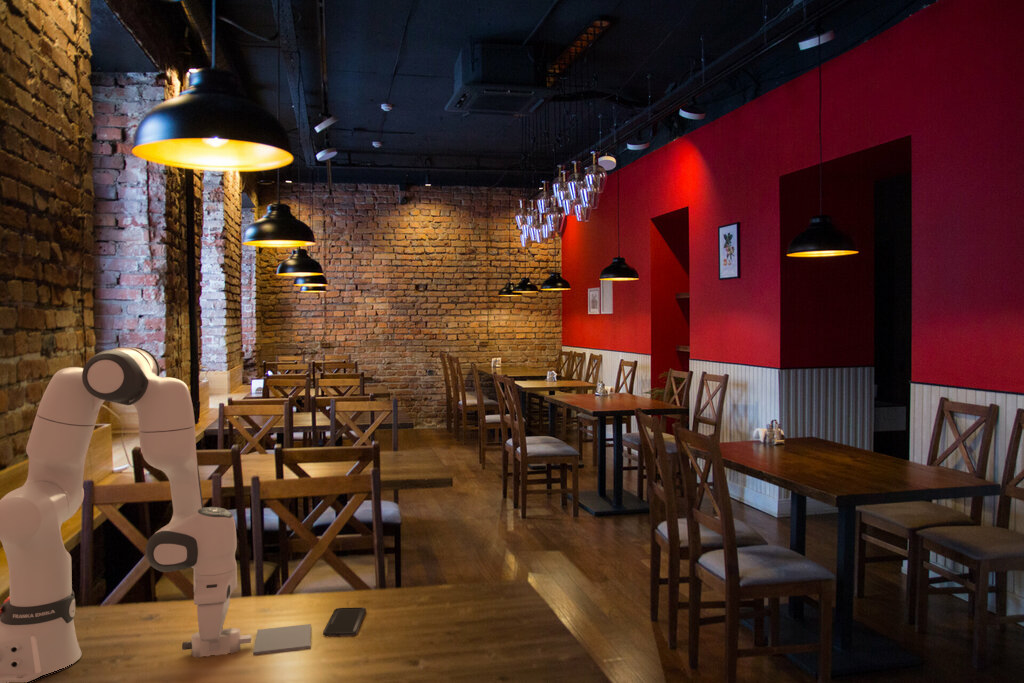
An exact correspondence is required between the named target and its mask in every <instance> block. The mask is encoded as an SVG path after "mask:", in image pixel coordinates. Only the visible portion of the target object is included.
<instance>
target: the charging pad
mask: <svg viewBox="0 0 1024 683" xmlns="http://www.w3.org/2000/svg"><path fill="white" fill-rule="evenodd" d="M311 627H312V626H311V623H309V624H308V623H307V624H306V623H305V624H298V625H288V626H280V627H279V626H278V627H272V628H271V627H270V628H269V627H268V628H261V629H257V630H256V637H255V640H254V645H253V646H254V647H253V652H252V653H253V654H252V655H253V656H254V655H255V656H256V655H263V654H272V653H281V652H291V651H298V650H308V649H311V637H312V636H311V634H312V632H311V630H312V629H311Z"/></svg>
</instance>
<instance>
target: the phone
mask: <svg viewBox="0 0 1024 683" xmlns="http://www.w3.org/2000/svg"><path fill="white" fill-rule="evenodd" d="M366 613H367V608H366V607H337V608H335V609H334V610H333V611H332V614H331V616H330V618H329V619H328V622H327V623H326V626H325V627H324V629H323V631H322V635H325V636H324V637H326V636H332V637H354V636H353V635H355V636H357V635H358V632H359V630H360V628H361V624H362V623H361V622H363V620H364V618H365V616H366ZM359 627H360V628H359Z"/></svg>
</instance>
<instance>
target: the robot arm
mask: <svg viewBox="0 0 1024 683" xmlns="http://www.w3.org/2000/svg"><path fill="white" fill-rule="evenodd" d="M47 384H48V385H47V387H46V388H45V391H44V393H43V395H42V398H41V400H40V402H39V405H38V408H37V411H36V414H35V417H34V421H33V424H32V427H31V431H30V433H29V438H28V440H27V445H26V447H25V452H26V455H27V457H28V470H27V471H28V472H27V478H26V481H25V482H24V484H23V485H22V486H20V487H18V488H15V489H14V490H12V491H9V492H8V493H6V494H5V495H4V496H3V497H1V499H0V542H1V544H2V547H3V551H4V552H5V557H6V561H7V565H8V567H7V568H8V579H9V580H8V581H9V582H8V584H9V585H8V586H9V596H8V597H7V598H6V599H5V600H4V601H3V604H1V605H0V683H6V682H7V683H9V682H28V681H31V680H33V679H36V678H38V677H40V676H42V675H45V674H48V673H51V672H54V671H57V670H59V669H62V668H64V669H66V668H68V667H70V666H72V665H73V664H75V663H76V662H77V661H78V660H80V658H81V657H82V654H83V653H82V650H81V648H80V644H79V642H78V641H79V640H78V638H77V633H76V628H75V622H74V618H75V615H76V614H75V613H76V598H75V592H74V590H73V588H72V587H73V584H72V582H73V581H72V577H73V576H72V570H73V569H72V556H71V554H70V552H68V551H67V549H66V548H65V544H64V541H63V536H62V531H61V529H62V524H63V523H65V522H66V521H68V520H69V519H71V518H72V517H73V516H75V514H76V513H77V511H78V510H79V509H80V507H81V505H82V504H83V501H84V498H85V489H84V487H83V485H84V474H85V462H86V458H87V454H88V451H89V446H90V444H91V440H92V436H93V432H94V430H95V426H96V424H97V423H96V422H97V420H98V416H99V412H100V410H101V408H102V405H103V404H104V402H109V403H116V404H120V405H125V406H132V405H133V407H135V409H136V412H137V418H138V437H139V446H140V452H141V454H142V458H143V459H144V461H145V462H146V463H147V464H148V465H149V466H151V467H153V468H154V469H157V470H159V471H162V472H163V473H164V474H165V475H166V477H167V479H168V481H169V487H170V488H169V489H170V494H171V495H170V496H171V502H172V516H171V519H170V521H169V523H167V524H166V525H165V526H163V527H161V528H159V530H157V531H156V532H155V533H154V534H152V535H151V536H150V537H149V539H148V540H147V542H146V545H145V552H144V553H145V557H146V560H147V562H148V563H149V564H150V566H151V567H152V568H153V569H155V570H157V571H159V572H163V573H170V572H177V571H181V570H186V569H190V568H192V569H193V603H194V605H196V610H197V612H196V613H197V625H198V632H199V635H200V639H201V641H202V642H206V641H209V646H210V651H217V650H218V648H219V637H220V633H221V630H222V629H224V628H223V627H224V623H225V620H226V617H227V614H228V610H229V608H230V603H231V602H230V598H231V596H232V593H233V592H234V591H235V590H236V589H237V588H238V566H237V560H236V551H237V547H238V546H237V545H238V544H237V530H236V522H235V521H236V520H235V518H234V515H233V513H232V512H231V511H230V510H228V509H227V508H222V507H217V506H209V507H205V506H204V502H203V494H202V486H201V485H202V484H201V478H200V469H199V464H198V457H197V456H198V455H197V445H196V444H197V443H196V442H197V439H196V421H195V413H194V412H195V411H194V406H193V402H192V396H191V393H190V390H189V387H188V385H187V384H186V383H185V382H184V381H183V380H181V379H179V378H175V377H169V376H161V368H160V362H159V361H158V359H157V357H156V356H155V355H154V354H152V353H151V352H150V351H148V350H147V349H144V348H142V347H137V346H135V347H134V346H132V347H129V346H121V347H115V348H113V349H106V350H103V351H100V352H98V353H96V354H94V355H93V356H91V358H90V359H88V361H87V362H86V364H84V366H83V367H79V366H78V367H77V366H70V367H64V368H62V369H59V370H58V371H56V372H55V373H54V374H53V375H52V378H50V381H49V383H47ZM71 664H72V665H71ZM69 665H70V666H69ZM67 666H68V667H67ZM65 667H66V668H65ZM62 670H63V669H62ZM59 671H60V670H59ZM57 672H58V671H57ZM54 673H55V672H54ZM51 674H52V673H51ZM48 675H49V674H48ZM45 676H46V675H45Z"/></svg>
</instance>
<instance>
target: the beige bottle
mask: <svg viewBox="0 0 1024 683" xmlns="http://www.w3.org/2000/svg"><path fill="white" fill-rule="evenodd" d="M251 642H252V634H245V635H244V634H243V635H241V629H240V628H238V627H230V628H223V629H222V630H221V633H220V637H219V648H218V650H217V651H210V646H209V641H206V642H202V641H201V639H200V635H199V631H198V632H195V633H193V634H191V641H183V642H182V645H181V649H182V651H186V650H191V656H192V657H193V656H195V657H194V658H202V657H201V656H206V657H211V656H210V655H215V656H221V655H222V654H223V655H227V654H226V653H231V654H235V653H237V651H238V652H239V651H240V650H241V649H240V648H241V645H243V644H250V643H251ZM234 652H235V653H234ZM220 654H221V655H220Z"/></svg>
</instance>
